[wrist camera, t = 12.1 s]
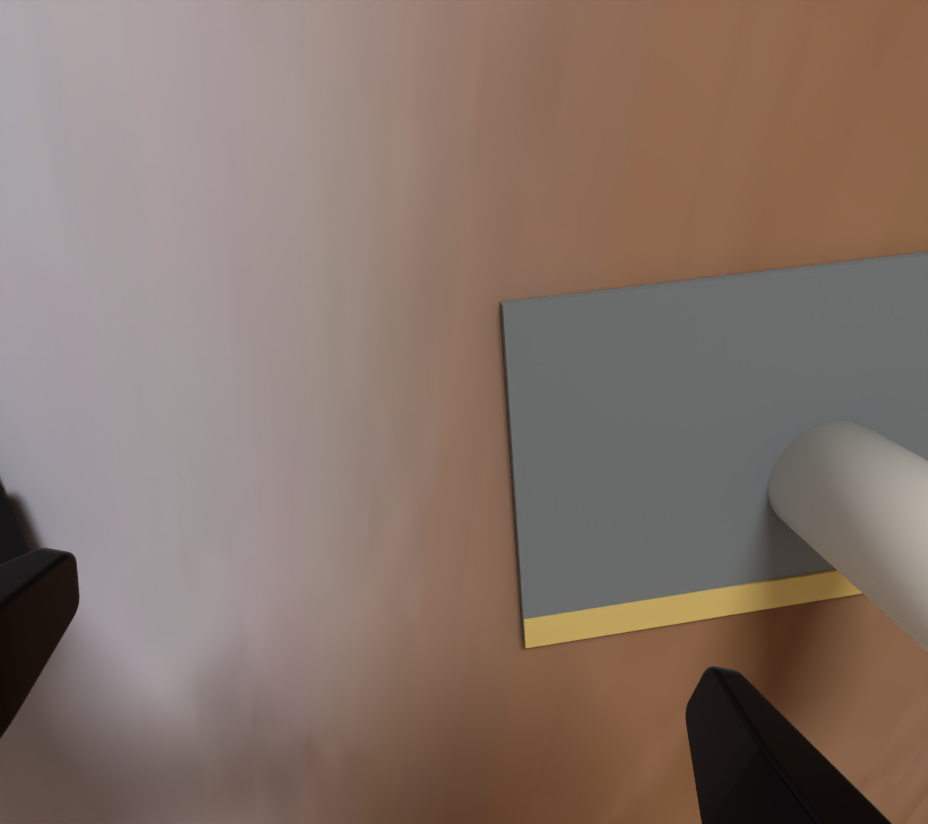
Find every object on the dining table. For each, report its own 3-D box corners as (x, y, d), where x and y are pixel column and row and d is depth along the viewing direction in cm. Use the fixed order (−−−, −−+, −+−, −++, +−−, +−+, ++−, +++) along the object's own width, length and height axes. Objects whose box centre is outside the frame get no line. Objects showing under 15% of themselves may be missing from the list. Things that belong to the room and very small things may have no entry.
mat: (522, 637, 25) (525, 648, 24) (500, 302, 19) (503, 306, 19) (928, 571, 26) (940, 580, 26) (1014, 241, 21) (1032, 243, 20)
